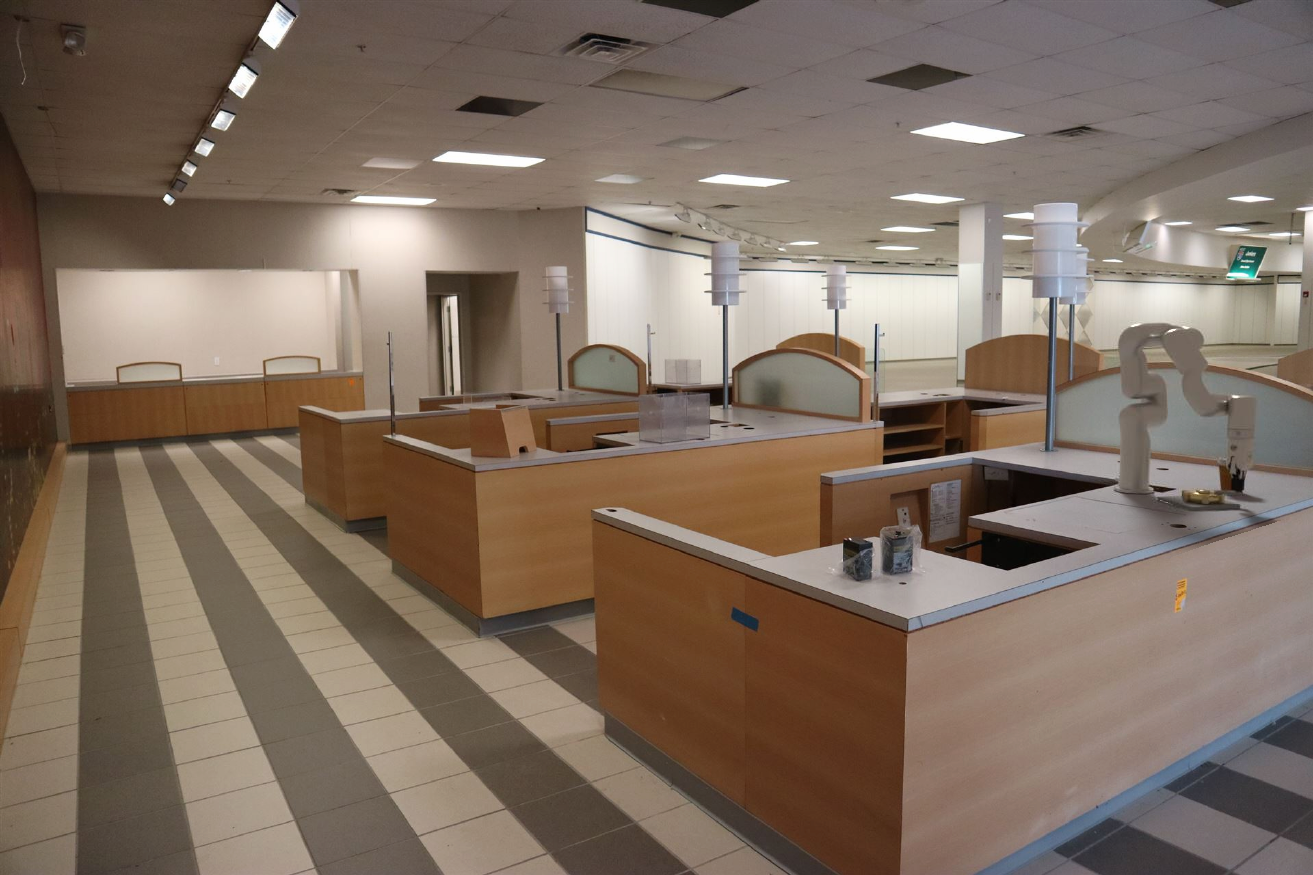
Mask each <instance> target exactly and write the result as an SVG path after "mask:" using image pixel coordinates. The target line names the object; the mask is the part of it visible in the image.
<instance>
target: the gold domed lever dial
mask: <svg viewBox="0 0 1313 875" xmlns="http://www.w3.org/2000/svg"><path fill="white" fill-rule="evenodd" d="M1243 494H1244V492H1243V491H1228V490H1221V489H1214V490H1210V489H1205V488H1204V489H1202V488H1197V489H1182V490H1181V496H1182V498H1183V501H1186V502H1193V503H1201V504H1218V503H1220V504H1223V503H1224V500H1225V499H1226V497H1225V495H1227V496H1229V495H1231V496H1243Z"/></svg>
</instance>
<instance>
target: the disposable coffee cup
mask: <svg viewBox="0 0 1313 875" xmlns="http://www.w3.org/2000/svg"><path fill="white" fill-rule="evenodd" d="M1226 459H1227V456H1222V457H1221V456H1220V457H1219V458H1218V460H1217V465H1218V470H1219V483H1220V484H1219V485H1220V490H1228V491H1234V490H1231V481H1232V478H1231V474H1230V469H1228V468H1227V467H1226ZM1247 472H1248V469H1247V470H1246V473H1245V478H1244V479H1245V480H1246V477H1247Z"/></svg>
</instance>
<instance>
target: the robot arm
mask: <svg viewBox="0 0 1313 875" xmlns="http://www.w3.org/2000/svg"><path fill="white" fill-rule="evenodd" d="M1204 344H1205V338H1204V335H1203V333H1202V332H1201V331H1200V330H1198V328H1197V329H1196V328H1195V327H1188V326H1183V325H1178V324H1174V323H1173V324H1172V323H1168V322H1141V323H1136V324H1132V325H1130V326H1128V327H1126V328H1125V329H1124V330H1123V331H1122V332H1121V333H1120V335H1119V337H1118V342H1117V348H1118V349H1117V350H1118V356H1119V363H1120V368H1119V370H1120V382H1121V385H1120V386H1121V393H1122V394H1123V396H1124V398H1126V399H1128V400H1141V402H1136V403H1130V404H1127V405H1125V406H1123V408H1121V410H1120V412H1119V413H1118V414H1119V415H1118V424H1119V425H1118V426H1119V431H1120V445H1119V446H1120V451H1119V452H1120V453H1119V475H1118V476H1117V477H1116V478H1115V480H1114V481H1115V482H1117V485H1114V486H1113V489H1114V491H1116V492H1118V493H1119V492H1120V493H1126V494H1136V495H1137V494H1138V495H1141V494H1143V495H1144V494H1152V493H1154V488H1153V487H1151V486H1150V485H1149V484H1150V469H1151V468H1150V466H1151V444H1152V442H1151V438H1150V437H1151V436H1150V434H1149V432H1148V430H1151V429H1156V428H1160V427H1162V426H1164V424H1165V423H1166V422H1167V419H1168V413H1169V412H1168V409H1169V408H1168V392H1167V384H1166V381H1165V379H1164V378H1163V376H1162V375H1161V374H1159V373H1157V372H1154V371H1149V370H1148V369H1149V368H1148V359H1147V356H1146V353H1145V352H1144V350H1143V349H1145V348H1157V347H1158V348H1163V349H1164V351H1165V352H1166V354H1167V355H1168V357H1169V359H1171V360H1170V361H1172V362H1173V364H1174V366H1175V367H1176V369H1177V370H1178V372H1179V374H1180V375H1181V387H1182V388H1181V389H1182V393H1183V396H1184V397H1185V400H1186V401H1187V403H1188V404H1189V406H1190V407H1191V409H1192V410H1193V411H1194V412H1195V413H1196V414H1197V415H1198V416H1200V417H1202V418H1216V417H1217V418H1218V417H1227V425H1226V426H1227V427H1226V439H1228V444H1227V448H1226V449H1227V452H1226V457H1227V459H1226V467H1227V468H1228V469H1230V474H1231V478H1232V481H1231V490H1234V491H1242V492H1243V491H1245V481H1246V477H1245V473H1246V474H1247V472H1246V470H1247V471H1248V470H1250V469H1252V468H1253V467H1254V464H1255V444H1254V440H1255V437H1256V436H1255V435H1256V422H1257V420H1256V419H1257V406H1258V405H1257V403H1258V402H1257V398H1256V397H1255V396H1253V395H1246V394H1245V395H1244V394H1243V395H1241V394H1238V395H1237V394H1233V393H1226V392H1219V393H1210V392H1209V390H1208V389H1207V387H1206V386H1205V383H1204V382H1203V378H1202V375H1203V372H1204V371H1205V370H1206V369H1207V368H1208V366H1209V362H1208V361H1207V359H1206V358H1205V356H1204V354H1202V352H1201V349H1202V348H1203V346H1204ZM1244 478H1245V479H1244Z"/></svg>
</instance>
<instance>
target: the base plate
mask: <svg viewBox="0 0 1313 875" xmlns="http://www.w3.org/2000/svg"><path fill="white" fill-rule="evenodd" d="M1157 499H1158V500H1162V501H1164V502H1168V503H1170V504H1169V505H1171V504H1172V506H1174V505H1175V507H1178V508H1181V507H1182V508H1181V509H1185V510H1187V509H1188V511H1192V512H1193V511H1213V510H1232V509H1235V510H1236V509H1241V504H1240V503H1236V502H1232V501H1228V500H1225V499H1224V503H1223V504H1220V503H1218V504H1201V503H1193V502H1186V501H1183V498H1182V495H1171V496H1170V495H1167V496H1156V500H1157ZM1158 500H1157V501H1158ZM1164 502H1163V503H1164Z"/></svg>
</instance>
